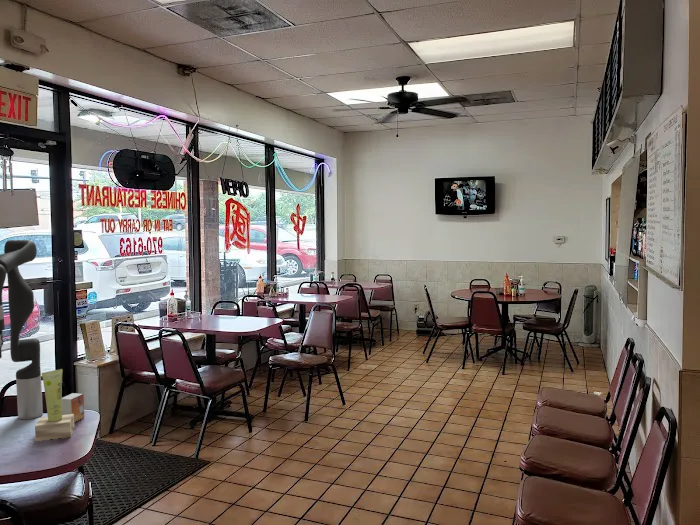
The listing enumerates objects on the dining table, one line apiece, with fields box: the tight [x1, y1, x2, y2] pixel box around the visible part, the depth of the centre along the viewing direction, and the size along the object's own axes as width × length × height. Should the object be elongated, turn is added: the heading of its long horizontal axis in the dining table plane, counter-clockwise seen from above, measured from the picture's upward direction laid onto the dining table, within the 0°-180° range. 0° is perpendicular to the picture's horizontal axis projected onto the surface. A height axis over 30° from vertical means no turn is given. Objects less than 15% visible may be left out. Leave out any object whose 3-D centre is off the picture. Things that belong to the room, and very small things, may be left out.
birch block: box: [34, 414, 75, 442], centre depth 221 cm, size 10×12×6 cm
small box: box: [62, 392, 85, 424], centre depth 236 cm, size 8×6×10 cm
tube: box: [41, 368, 64, 422], centre depth 220 cm, size 6×5×20 cm
